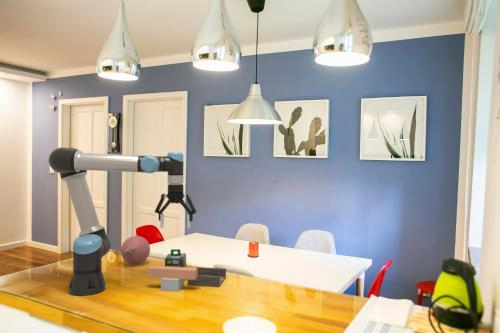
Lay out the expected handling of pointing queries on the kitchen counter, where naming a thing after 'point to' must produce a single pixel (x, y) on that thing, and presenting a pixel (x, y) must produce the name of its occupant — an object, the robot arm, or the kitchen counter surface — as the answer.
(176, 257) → the chalk box
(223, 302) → the kitchen counter surface
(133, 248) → the balloon
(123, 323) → the kitchen counter surface
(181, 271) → the bar
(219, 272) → the cradle
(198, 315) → the kitchen counter surface
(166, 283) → the white and tan block
